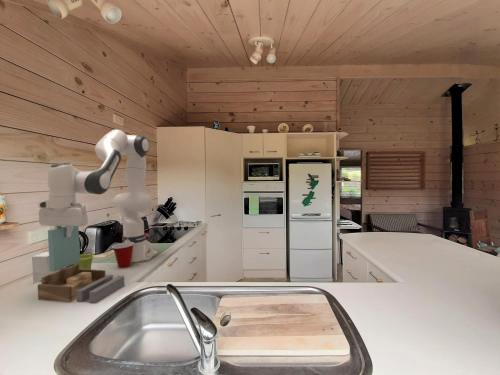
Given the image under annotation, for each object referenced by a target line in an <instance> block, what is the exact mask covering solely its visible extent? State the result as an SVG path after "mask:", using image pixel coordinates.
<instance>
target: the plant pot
mask: <svg viewBox="0 0 500 375" xmlns="http://www.w3.org/2000/svg"><path fill="white" fill-rule="evenodd" d="M94 257H95V255H94V254H90V253H86V254H80V262H77V263H75V264H73V265H76V264H79V269H90V270H92V263H93V258H94Z"/></svg>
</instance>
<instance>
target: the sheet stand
mask: <svg viewBox="0 0 500 375" xmlns="http://www.w3.org/2000/svg"><path fill="white" fill-rule="evenodd" d="M123 287H125V276H124V275H117V277H114V276H113V275H112V274H107V275H105V277H103V278H101V279H99V280H97V281H95V282H93V283H91V284H89V285H87V286H85V287H83V288H81V289H79V290H77V291H76V299H75V300H76V303H77V302H78V303H88V304H96V303H98V302H100V301H101V300H103V299H105V298H106V297H108V296H109V295H112V294H113V293H115V292H116V291H118V290H119V289H122V288H123Z"/></svg>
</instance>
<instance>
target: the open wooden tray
mask: <svg viewBox="0 0 500 375" xmlns="http://www.w3.org/2000/svg"><path fill="white" fill-rule="evenodd" d="M82 272H91V277H92V281H97V280H99V279H101V278H103V277H105V276H106V270H102V269H91V270H90V269H79V264H76V265H74V264H72V265H70V266H67V267H64V268H62V269H60V271H57V272H55V273H52V274H49V275H47V276H44V277H42V278H41V281H40V282H41V283H39V284H37V300H40V301H41V300H42V301H51V302H62V303H63V302H64V303H72V302H73V301H75V300H76V296H74V297H72V289H71V286H64V285H66V284H67V280H66V279H68V278H70V277H72V276H75V275H77V274H79V273H82Z"/></svg>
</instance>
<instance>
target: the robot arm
mask: <svg viewBox="0 0 500 375" xmlns="http://www.w3.org/2000/svg"><path fill="white" fill-rule="evenodd" d="M149 149H150V141H149V140H148V138H147V137H146V136H144V135H137V134H126V133H125V132H124V131H123V130H121V129H112V130H110V131H109V132H108V133H106V134H105V135H103V137H101V139H99V140H98V141H97V143H96V144H95V146H94V152H95V155H96V156H97V157H98V158H99V159H100V160H101V161H102V162H103V163H102V165H101V167H100V168H99V169H97V170H89V171H87V170H86V171H82V170H80V169H77V168H76V167H75V166H73V163H70V162H62V163H60V162H58V163H54V164H52V165H50V166H49V168H48V172H47V185H48V189H49V192H48V193H49V194H48V198H47V199H45V200H43V201H41V202H39V203H38V208H39V209H38V210H39V211H38V223H39V224H40V226H42V227H43V226H44V227H45V226H46V227H47V226H48V227H54V228H53V229H56V228H61V227H65V226H66V229H67V232H66V233H64V234H65V237H71V232H72V230H73V228H74V226H78V227H84V226H87V225H88V223H89V218H88V213H87V210H86V206H85V204H83V202H82V203H81V202H79V203H77V199H76V198H77V196H76V194H89V195H90V194H92V195H103V194H105V193H106V192H108V189H109V188H110V186H111V182H112V180H113V178H114V175H115V173H116V171H117V169H118V167H119V165H120V163H121V160H122V155H123V156H127V159H126V164H125V173H124V182H125V184H126V185H127V186H128V189H129V192H122V193H118V194H116V195H115V196H114V198H113V201H112V202H113V203H112V204H113V207H114V208H115V209H116V210H117V211H118V213H119V215H120V218H121V221H122V229H123V230H122V232H123V233H122V243H125V242H134V245H133V250H132V258H131V263H137V262H143V261H149V260H151V259H152V258H153V257H154V256H156V255H157V254H158V251H157V250H154V245H153V243H152V242H150V241H148V240H147V238H148V237H149V233H145V223H144V220H143V219H142V218H141V217H140V214H139V213H142V212H147V211H150V210H151V209H152V207H153V205H154V200H153V197H152V195H151V194H149V192H148V190H147V185H146V179H147V178H146V176H147V159H146V158H147V156H146V155H147V153H148V152H149Z"/></svg>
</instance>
